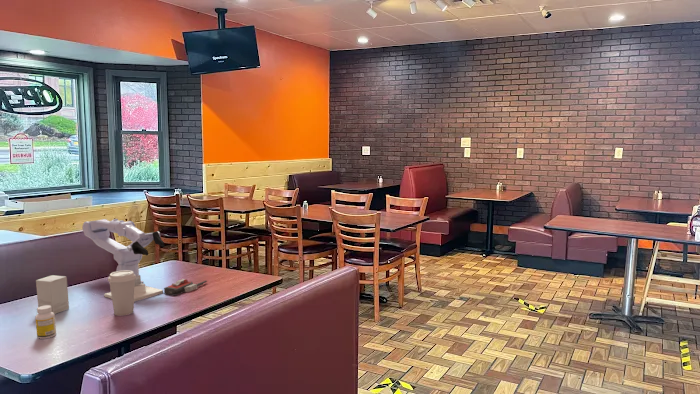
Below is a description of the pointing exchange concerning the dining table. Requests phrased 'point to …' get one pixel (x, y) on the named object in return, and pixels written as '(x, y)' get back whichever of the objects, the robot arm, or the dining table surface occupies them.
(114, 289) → the coffee cup
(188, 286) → the walkie-talkie
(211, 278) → the dining table surface
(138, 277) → the column
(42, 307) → the supplement bottle
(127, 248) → the robot arm
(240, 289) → the dining table surface
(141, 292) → the jack stand base
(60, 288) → the supplement box
